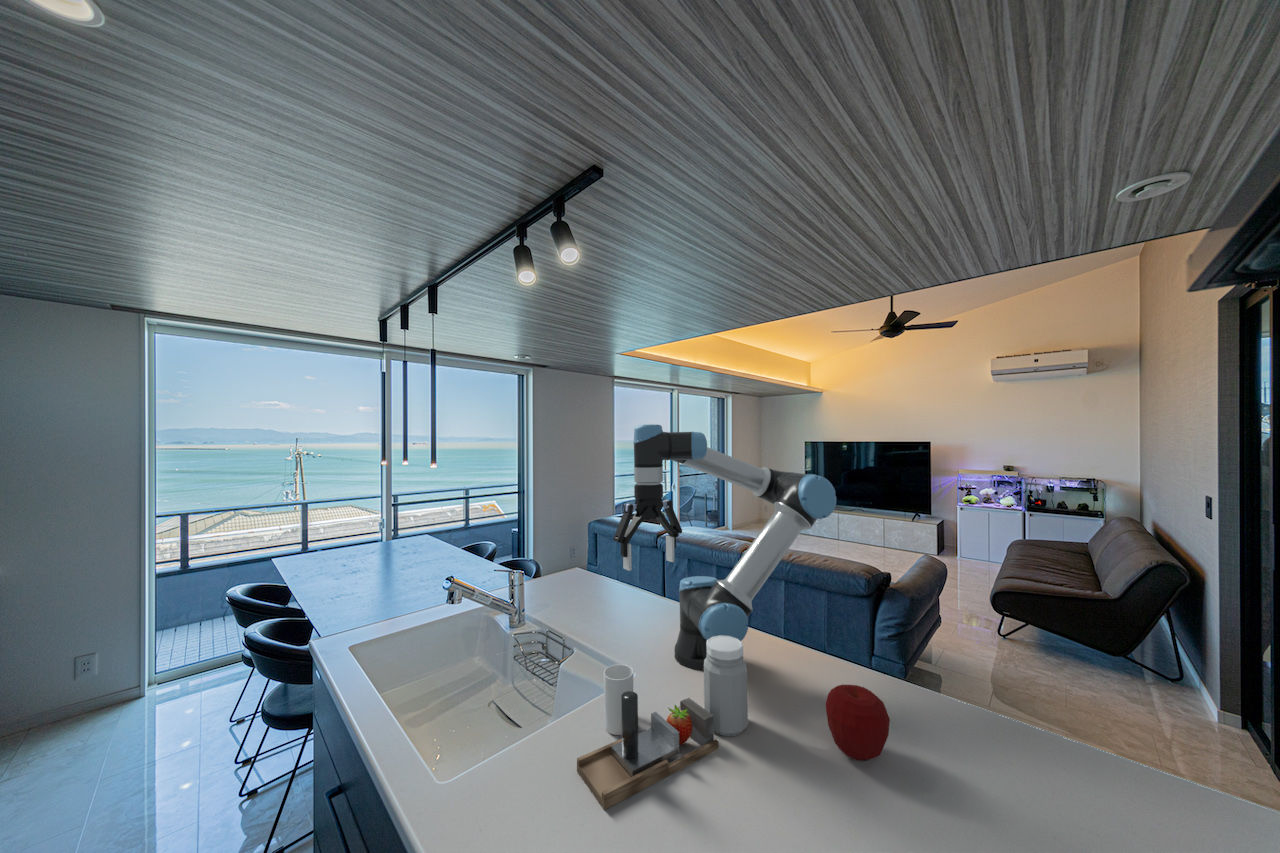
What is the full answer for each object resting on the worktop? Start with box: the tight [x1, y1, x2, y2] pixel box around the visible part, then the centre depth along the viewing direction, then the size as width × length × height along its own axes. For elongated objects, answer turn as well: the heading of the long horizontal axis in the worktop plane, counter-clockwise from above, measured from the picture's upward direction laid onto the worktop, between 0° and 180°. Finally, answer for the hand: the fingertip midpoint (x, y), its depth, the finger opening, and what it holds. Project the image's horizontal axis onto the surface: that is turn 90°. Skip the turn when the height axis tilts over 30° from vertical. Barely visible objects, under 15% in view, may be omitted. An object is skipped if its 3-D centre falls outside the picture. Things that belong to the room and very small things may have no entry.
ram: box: [611, 691, 680, 776], centre depth 88 cm, size 11×8×12 cm
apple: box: [825, 684, 891, 762], centre depth 89 cm, size 12×12×13 cm
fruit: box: [666, 704, 692, 746], centre depth 92 cm, size 5×5×8 cm
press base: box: [576, 697, 720, 811], centre depth 88 cm, size 27×11×6 cm, turn 124°
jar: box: [703, 635, 749, 737], centre depth 99 cm, size 10×10×18 cm
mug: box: [603, 663, 634, 736], centre depth 100 cm, size 10×7×12 cm, turn 160°
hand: (649, 565), depth 114 cm, fingers open, 13 cm apart
